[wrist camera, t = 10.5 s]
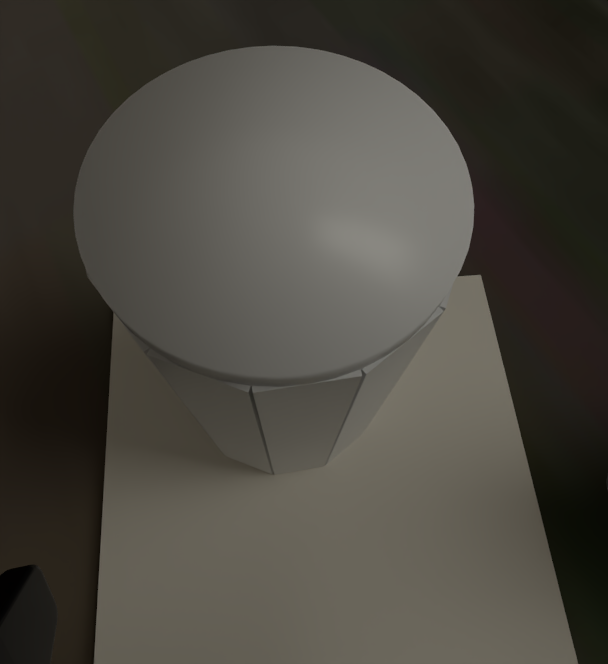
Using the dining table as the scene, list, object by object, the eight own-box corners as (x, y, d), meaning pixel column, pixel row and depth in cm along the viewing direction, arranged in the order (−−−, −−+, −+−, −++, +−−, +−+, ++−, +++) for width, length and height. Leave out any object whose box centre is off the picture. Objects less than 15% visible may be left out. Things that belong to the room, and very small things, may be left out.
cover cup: (341, 501, 19) (411, 444, 8) (160, 430, 20) (-10, 287, 9) (398, 329, 22) (510, 103, 10) (236, 273, 22) (182, 9, 11)
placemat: (584, 704, 17) (588, 707, 17) (91, 763, 16) (88, 767, 16) (478, 278, 23) (480, 274, 23) (116, 303, 22) (114, 300, 22)
